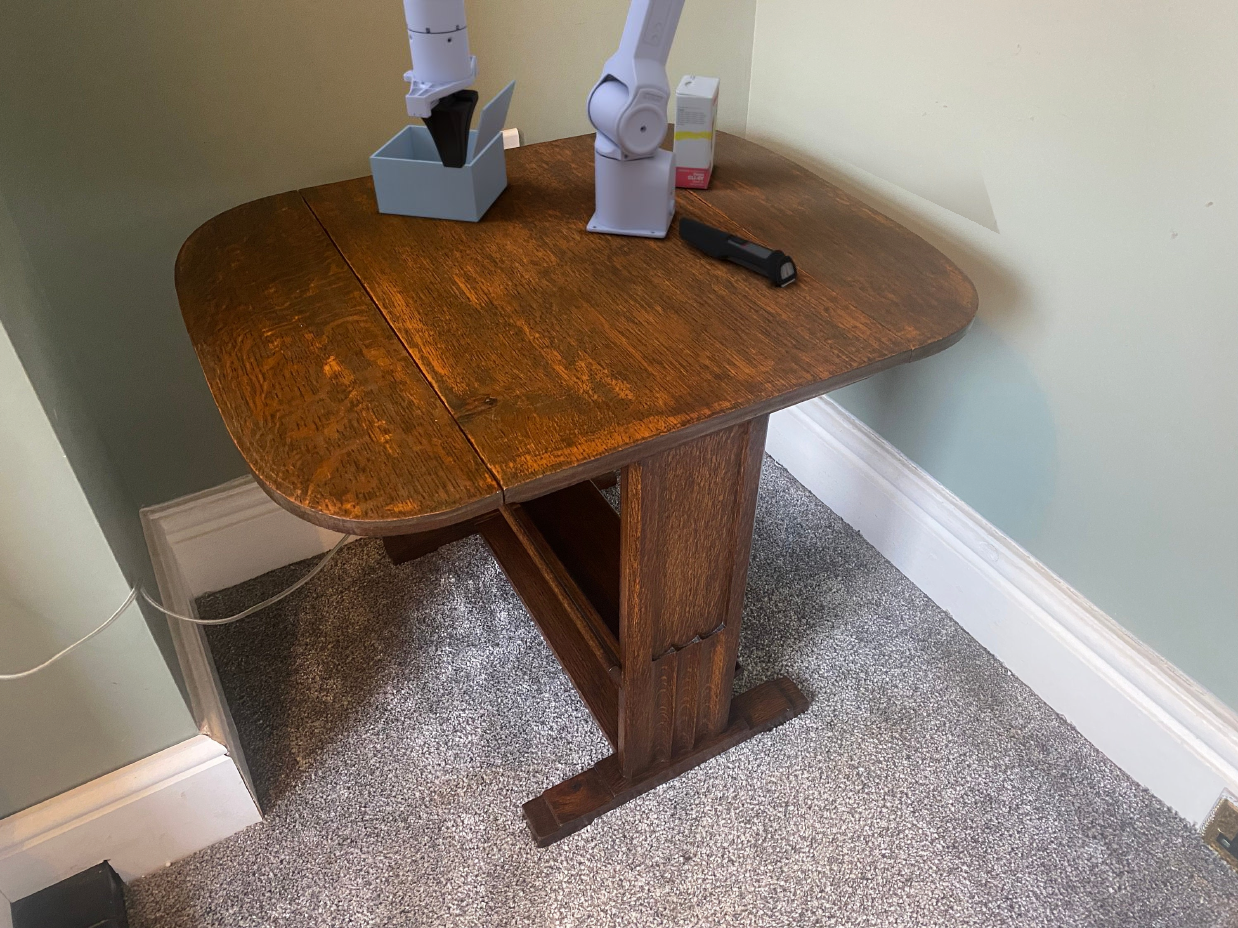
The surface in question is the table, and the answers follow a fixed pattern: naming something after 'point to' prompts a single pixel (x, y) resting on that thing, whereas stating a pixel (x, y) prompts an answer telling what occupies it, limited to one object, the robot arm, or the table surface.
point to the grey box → (436, 177)
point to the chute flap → (492, 119)
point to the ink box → (695, 130)
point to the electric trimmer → (739, 251)
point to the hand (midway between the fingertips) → (454, 165)
